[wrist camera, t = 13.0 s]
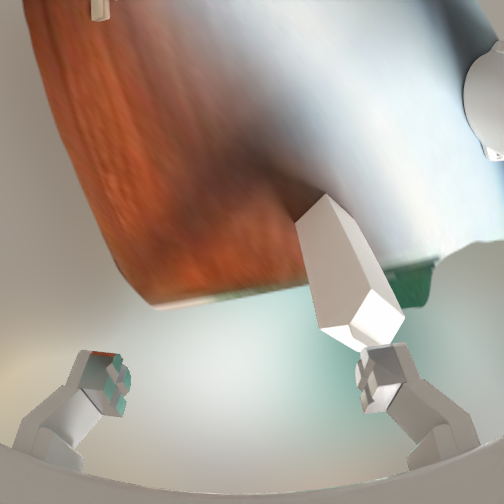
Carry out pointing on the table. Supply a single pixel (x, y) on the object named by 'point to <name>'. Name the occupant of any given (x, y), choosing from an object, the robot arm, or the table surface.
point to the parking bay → (100, 10)
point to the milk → (346, 279)
